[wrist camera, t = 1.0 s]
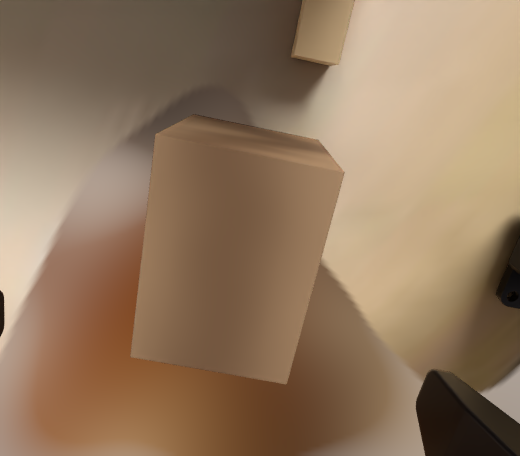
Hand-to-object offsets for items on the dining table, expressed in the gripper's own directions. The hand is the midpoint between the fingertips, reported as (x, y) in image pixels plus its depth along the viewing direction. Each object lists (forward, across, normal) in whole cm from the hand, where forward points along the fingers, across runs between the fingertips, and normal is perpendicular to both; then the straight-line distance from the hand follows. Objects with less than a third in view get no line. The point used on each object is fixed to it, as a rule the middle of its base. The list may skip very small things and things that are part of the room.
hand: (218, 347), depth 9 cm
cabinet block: (+10, 0, 0) cm, 10 cm away
